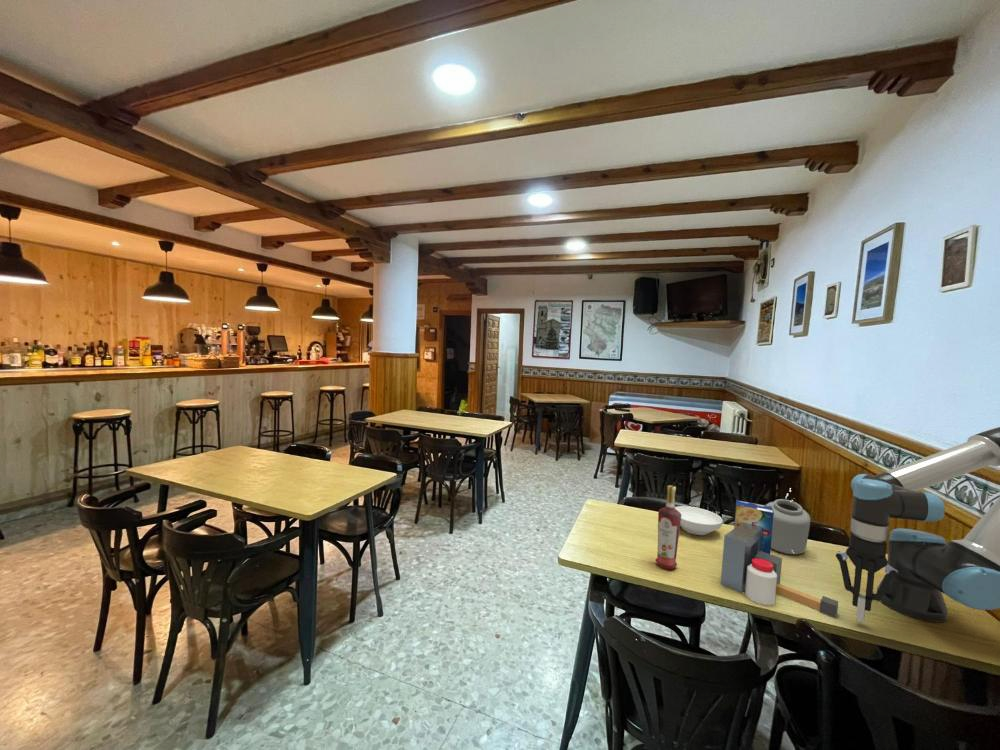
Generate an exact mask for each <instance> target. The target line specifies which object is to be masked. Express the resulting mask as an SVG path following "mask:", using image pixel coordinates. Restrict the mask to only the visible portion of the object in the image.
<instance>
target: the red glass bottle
mask: <svg viewBox="0 0 1000 750" xmlns="http://www.w3.org/2000/svg"><path fill="white" fill-rule="evenodd" d="M666 487H667V488H666V490H667V491H666V492H667V497H666V503H665V507H662V508H659V509H658V513H657V515H658V517H657V519H658V521H657V556H656V558H655V563H657V565H658V566H659V567H660V568H663V569H665V570H672V569H675V568H677V566H678V564H677V553H678V544H679V537H680V530H681V529H680V528H681V526H680V522H681V513H680V512H679V511H678V510H676V509H675V507H676V501H675V500H676V499H675V496H676V491H677V487H676V486H674V485H673V484H672V485H670V484H669V485H667V486H666Z"/></svg>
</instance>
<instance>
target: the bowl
mask: <svg viewBox="0 0 1000 750" xmlns="http://www.w3.org/2000/svg"><path fill="white" fill-rule="evenodd" d="M675 509H676V510H678V511H679V512H680V513H681V522H680V527H681V528H682V529H683V531H685V532H687V533H689V534H693V535H698V536H706V535H708V534H710V533H713V532H714V531H717V530H720V529H721V528H722V525H723V518H722V517H721V516H720V515H719V514H717V513H715V512H712V511H710V510H707V509H704V508H700V507H696V506H695V507H694V506H686V505H680V506H675Z"/></svg>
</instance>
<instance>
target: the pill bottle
mask: <svg viewBox="0 0 1000 750" xmlns="http://www.w3.org/2000/svg"><path fill="white" fill-rule="evenodd" d="M776 584H777V574H776V573H775V571H774V570H773V564H772V563H770V562H769V561H766V560H763V559H759V558H754V559H752V564H750V565H748V566H747V574H746V586H745V590H744V594H745V597H746V598H748V599H749V601H752V602H753V603H757V604H759V605H762V606H774V605H775V603H776V595H777V594H776Z"/></svg>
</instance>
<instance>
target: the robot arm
mask: <svg viewBox="0 0 1000 750" xmlns="http://www.w3.org/2000/svg"><path fill="white" fill-rule="evenodd" d="M989 466H991V467H1000V426H998V427H995V428H991V429H988V430H986V431H982V432H979V433H977V434H976V433H975V434H973V435H971V436H969V437H968V438H967V441H966V442H962V443H961V444H958V445H957V444H956V445H954V446H952V447H949V448H947V449H944V450H942V451H938V452H936V453H933V454H930V455H928V456H925V457H921V458H920V459H919V458H918V459H917V460H914V461H912V462H908V463H906V464H903V465H901V466H898V467H895V468H892V469H889V470H887V471H884V472H882V473H878V474H875V475H872V474H867V473H860V474H856V475H855V476H854V477H853V478H852V479H851V481H850V487H851V488H850V489H851V490H852V492H853V493H852V497H853V498H852V510H851V520H850V531H851V532H850V533H849V541H848V547H847V549H846V550H845V551H839V550H838V551H837V552H836V553H835V557H836V559H837V561H838V562H839V565H840V570H841V576H842V580H843V584H844V585H843V586H844V588H845V589H844V590H845V591H847V592H850V593H851V594H852V601H851V605H852V606H853V607H856V618H855V620H856V621H858V622H860V623H864V621H865V617H866V611H867V612H870V611H871V610H872V604H873V603H872V602H873V601H876V602H881V603H882V604H884V605H885V606H886V607H888V608H891V610H892V609H893V610H894V611H897V612H899V613H901V614H903V615H906V616H909V617H912V618H915V619H918V620H923V621H926V622H932V623H945V622H947V621H948V615H949V614H948V613H949V612H948V607H947V605H946V601H945V599H944V596H943V594H944V595H945V596H947V597H948V598H950V599H951V600H953V601H954V602H957V603H960V604H962V605H964V606H965V607H968V608H970V609H973V610H977V611H984V610H985V611H986V610H987V611H992V610H996V609H1000V496H998V497H997V499H996V500H995V501H994V502H993V504H992V505H991V506H990V508H988V509H987V511H986V512H985V513H984V514H983V515H982V516H981V518H980V519H979V520H978V521H977V522H976V524H975V525H974V526H973V527H972V528H971V529H970V530H969V532H968V533H967V534H966V535H965V536H964V538H962V539H952V540H950V541H949V542H946V538H944V537H943V536H941V535H938V534H935V533H931V532H927V531H921V530H917V529H911V528H910V529H909V528H894V529H891V531H890V532H889V528H890V527H889V526H890V525H889V524H890V520H891V519H890V518H892V519H901V520H910V521H911V520H912V521H919V522H920V521H921V522H938V521H940V520H942V519H943V518H944V517H945V513H946V511H945V510H946V506H945V503H944V502H943V500H942V499H941V498H940V497H939V496H938V495H936V494H934V493H931V492H925V491H922V490H924V489H927V488H929V487H932V486H935V485H938V484H941V483H943V482H947V481H949V480H953V479H954V478H957V477H958V478H959V477H960V476H964V475H967V474H968V473H973V472H975V471H977V470H980V469H982V468H983V469H984V468H986V467H989ZM889 533H890V534H889ZM888 535H889V538H888ZM887 540H888V542H887ZM887 545H888V546H887ZM887 548H888V549H887ZM887 551H888V552H887ZM886 555H887V556H886ZM886 557H887V558H886ZM848 558H849V560H850V562H851V563H852V564H853V565H854V566H855V569H854V578H853V579H854V581H853V585H852V581H851V576H850V571H849V566H848V562H847V559H848ZM882 569H884V573H885V574H884V576H883V578H882V579H881V581H880V583H879V584H878V586H877V588H876V593H873V591H874V584H875V583H874V582H875V573H877V572H878V571H880V570H882ZM863 571H867V577H866V586H865V588H866V589H865V594H862V593H861V585H862V584H861V583H862V576H863V575H862V574H863Z"/></svg>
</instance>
